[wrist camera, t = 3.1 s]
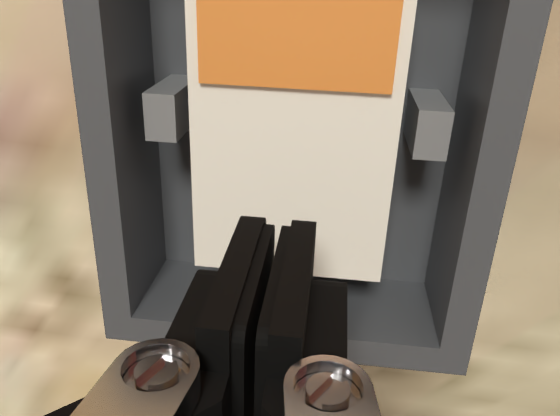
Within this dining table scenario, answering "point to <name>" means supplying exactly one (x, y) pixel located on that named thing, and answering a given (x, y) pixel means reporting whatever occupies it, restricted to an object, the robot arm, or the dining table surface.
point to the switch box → (406, 186)
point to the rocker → (297, 122)
